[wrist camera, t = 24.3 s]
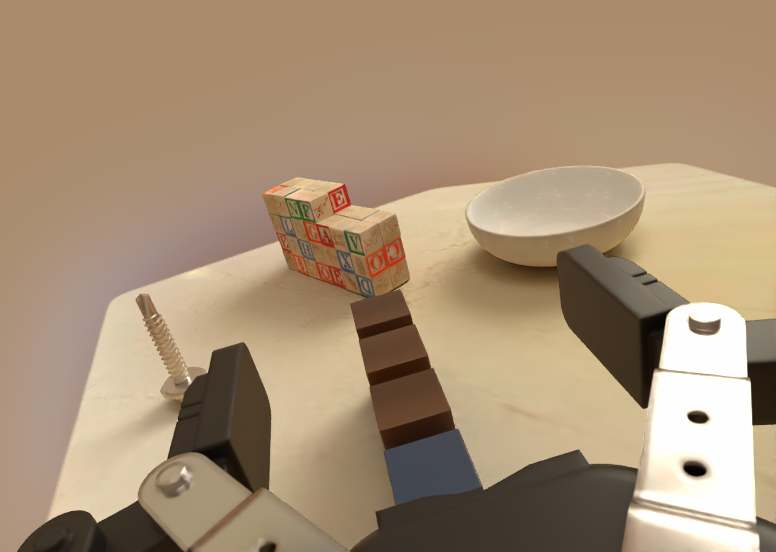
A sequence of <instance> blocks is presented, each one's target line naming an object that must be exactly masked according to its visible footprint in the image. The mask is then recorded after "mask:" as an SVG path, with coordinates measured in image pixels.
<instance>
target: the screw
mask: <svg viewBox="0 0 776 552" xmlns="http://www.w3.org/2000/svg"><path fill="white" fill-rule="evenodd" d="M136 302H137V304H138V306H139V308H140V310H141V312H142V314H143V316H144V319H143V321H145V322H146V324H145V326H146V327H148V330H147V331H148V332H150V333H151V334H150V336H152V337H153V339H152V341H155V346H157V347H158V348H157V351H160V353H159V355H160V356H162V360H164V361H165V362H164V365H167V367H166V369H168V370H169V372H168V373H169V374H171V376H170V377H169V378H168V379H167V380H166V381H165V382H164V384H163V386H162V388H161V393H162V395H163V397H164V398H166V399H170V400H173V399H177V400H178V401H179V402H180V403H181V404H182V401H183V397H184V393H185V391H186V390H187V388H188V387H189V386H190V384H191V383H192V382H193V380H194V379H195V378H196V377H197V376H199V375H203V374H206V371H205V370H204V369H202V368H198V367H189V368H187V366H186V365H185V362H184V361H183V357H181V353H180V352H178V351H179V349H178V348H177V347H176V343H174V339H173V338H171V337H172V335H171V334H170V333H169V329H168V328H167V324H165V323H164V322H165V320H164V319H162V315H161V314H158V312H157V311H156V308H155V306H154V304H153V302H152V300H151V298H150V296H149V294H140V295H139V296H138V297H137V298H136Z"/></svg>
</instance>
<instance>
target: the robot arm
mask: <svg viewBox="0 0 776 552" xmlns="http://www.w3.org/2000/svg"><path fill="white" fill-rule="evenodd" d="M556 261H557V271H558V281H559V290H560V300H561V308H562V312H563V315H564V318H565V320H566V322H567V324H568V326H569V327H570V329H571V330H572V331H573V332H574V333H575V334H576V335H577V337H578V338H579V339H580V340H581V341H582V342H583V343H584V344H585V345H586V347H587V348H588V349H589V350H590V351H591V352H592V353H593V354H594V355H595V356H596V358H597V359H598V360H599V361H600V362H601V363H602V364H603V365H604V366H605V368H606V369H607V370H608V371H609V372H610V373H611V374H612V375H613V376H614V377H615V379H616V380H617V381H618V382H619V383H620V384H621V385H622V386H623V387H624V389H625V390H626V391H627V392H628V393H629V394H630V395H631V396H632V397H633V398H634V400H635V401H636V402H637V403H638V404H639V405H640V406H641V407H642V408H643V409H645V408H648V411H647V418H646V424H645V430H644V436H643V442H642V449H641V455H640V461H639V467H638V469H636V468H632V467H627V466H622V465H613V464H588V462H587V461H586V459H585V458H584V456H583V455H582V453H581V452H580V450H579V449H578V450H575V451H572V452H569V453H565V454H562V455H559V456H556V457H552V458H549V459H546V460H543V461H539V462H536V463H533V464H530V465H528V466H526V467H524V468H523V469H521V470H519V471H517V472H516V473H514V474H512V475H510V476H509V477H507V478H505V479H503V480H502V481H500V482H498V483H496V484H495V485H493V486H491V487H489V488H488V489H486V490H483V491H479V492H469V493H458V494H446V495H435V496H425V497H422V498H419V499H416V500H412V501H409V502H406V503H403V504H399V505H396V506H393V507H390V508H386V509H383V510H380V511H376V517H377V523H378V528H379V529H378V530H376V531H374V532H373V533H371V534H369V535H368V536H367V537H365V538H364V539H363V540H361V541H360V542H359V543H358V544H356V545H355V546H354V547H353V548H352V549H351V550H350V551H349V550H348V549H346V548H345V547H344V546H342V545H341V544H340V543H338V542H337V541H336V540H334V539H333V538H332V537H330V536H329V535H328V534H326V533H325V532H324V531H322V530H321V529H320V528H318V527H317V526H316V525H314V524H313V523H312V522H310V521H309V520H308V519H306V518H305V517H304V516H302V515H301V514H300V513H298V512H297V511H296V510H294V509H293V508H292V507H290V506H289V505H288V504H286V503H285V502H284V501H282V500H281V499H280V498H278V497H277V496H276V495H274V494H273V493H272V492H270V491H269V471H270V440H271V409H270V404H269V400H268V396H267V393H266V391H265V388H264V386H263V383H262V381H261V378H260V376H259V374H258V371H257V369H256V366H255V364H254V362H253V359H252V357H251V354H250V352H249V350H248V348H247V346H246V344H245V343H244V342H242V343H238V344H235V345H231V346H228V347H224V348H221V349H218V350H214V351H213V352H212V356H211V361H210V366H209V371H208V373H206V374H203V375H199V376H197V377H196V378H195V379H194V380H193V382H192V383H191V384H190V386H189V387H188V388H187V390H186V391H185V393H184V397H183V401H182V404H181V410H180V412H179V416H178V422H177V424H176V427H175V431H174V435H173V439H172V443H171V447H170V450H169V454H168V458H167V460H166V461H164V462H163V463H161V464H160V465H158V466H157V467H156V468H155V469H153V470H152V471H151V472H150V473H149V474H148V476H147V477H146V478H145V479H144V481H143V482H142V484H141V486H140V488H139V492H138V500H137V501H136V502H135V503H133V504H131V505H130V506H128V507H126V508H124V509H122V510H121V511H119V512H117V513H115V514H113V515H111V516H109V517H108V518H106V519H104V520H102V521H100V522H98V523H97V522H96V521H95V519H94V518H93V517H92V515H91V514H90V513H88V512H86V511H82V510H76V511H70V512H67V513H64V514H61V515H59V516H57V517H55V518H53V519H51V520H49V521H48V522H46V523H45V524H43V525H42V526H41V527H39V528H38V529H37V530H36V531H35V532H33V533H32V534H31V535H30V536H29V537H28V538H27V539H26V540H25V542H24V543H23V544H22V545H21V547H20V548H19V550H18V551H17V552H776V524H774V523H772V522H769V521H767V520H765V519H762V518H760V517H757V516H756V506H755V482H754V457H753V432H752V425H773V424H776V319H765V320H753V321H745V320H744V318H743V317H742V316H741V315H740V314H739V313H738V312H737V311H735V310H733V309H731V308H729V307H726V306H723V305H719V304H713V303H690V302H688V301H687V300H686V299H684V298H683V297H681V296H680V295H679V294H677V293H676V292H674V291H673V290H672V289H670V288H669V287H668V286H666V285H665V284H663V283H662V282H661V281H659V282H658V280H657V279H656V278H655V277H654V276H652V275H651V274H647V272H646V271H645V270H644V269H642V268H641V267H640V266H638V265H637V264H635V263H634V262H632V261H628V260H625V259H622V258H619V257H615V256H612V257H609V258H607V257H606V256H604V255H603V254H602V253H600V252H599V251H598V250H597V249H595V248H594V247H593V246H591V245H590V244H584V245H581V246H577V247H574V248H570V249H567V250H563V251H560V252H558V254H557V260H556Z"/></svg>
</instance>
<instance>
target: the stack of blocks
mask: <svg viewBox="0 0 776 552" xmlns="http://www.w3.org/2000/svg"><path fill="white" fill-rule="evenodd" d="M262 196H263V199H264V201H265V204H266V206H267V209H268V212H269V215H270V218H271V221H272V224H273V227H274V229H275V231H276V233H277V236H278V239H279V242H280V244H281V247H282V249H283V254H284V257H285V259H286V262H287V264H288V267H289V268H292V269H294V270H297V271H299V272H301V273H304V274H307V275H310V276H312V277H314V278H317V279H320V280H324V281H327V282H330V283H332V284H336V285H338V286H341V287H343V288H346V289H348V290H350V291H353V292H356V293H358V294H362V295H364V296H366V297H369V298H371V297H375V296H378V295H382V294H385V293H388V292H390V291H391V290H393V289H394V288H396V287H398V286H399V285H401V284H402V283H404V282H405V281H407V280H408V279H410V275H409V270H408V266H407V263H406V259H405V253H404V249H403V245H402V241H401V237H400V236H401V233H400V229H399V225H398V221H397V217H396V214H395V213H391V212H385V211H380V210H376V209H371V208H365V207H360V206H351V203H350V199H349V196H348V193H347V189H346V186H345V184H341V183H334V182H333V183H332V182H326V181H317V180H310V179H305V178H294V179H292V180H290V181H287V182H285V183H283V184H281V185H280V186H277V187H275V188H272V189H270V190H268V191H266V192H264V193H262Z"/></svg>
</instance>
